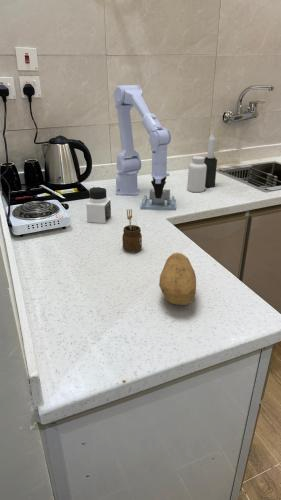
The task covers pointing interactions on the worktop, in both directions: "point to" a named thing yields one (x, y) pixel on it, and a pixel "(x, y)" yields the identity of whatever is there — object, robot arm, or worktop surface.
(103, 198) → the medicine bottle
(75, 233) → the worktop surface
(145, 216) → the worktop surface
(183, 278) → the potato
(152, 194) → the block
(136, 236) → the utensil holder
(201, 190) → the pill bottle
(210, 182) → the candle
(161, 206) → the tray
